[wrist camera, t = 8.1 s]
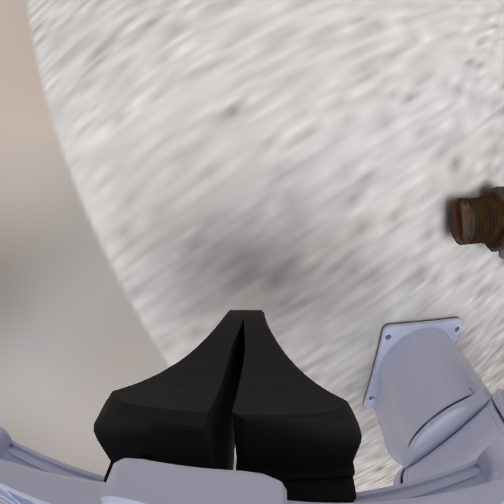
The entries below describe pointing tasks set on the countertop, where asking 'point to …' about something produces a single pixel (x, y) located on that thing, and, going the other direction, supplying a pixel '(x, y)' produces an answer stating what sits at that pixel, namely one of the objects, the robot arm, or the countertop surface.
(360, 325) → the countertop surface
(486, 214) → the bolt
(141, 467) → the robot arm
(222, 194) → the countertop surface
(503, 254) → the grey shallow rectangular tray
